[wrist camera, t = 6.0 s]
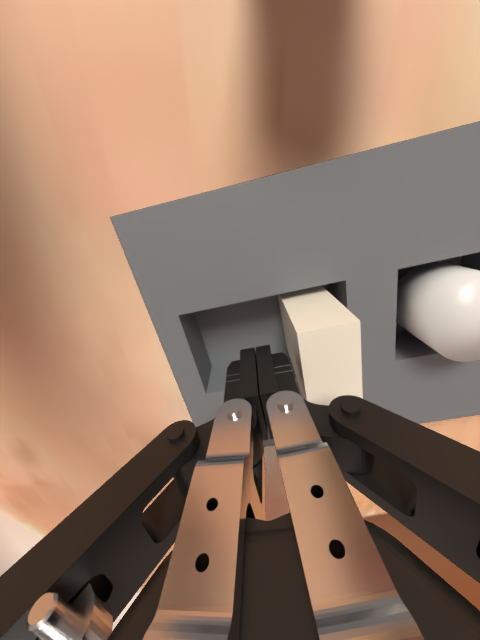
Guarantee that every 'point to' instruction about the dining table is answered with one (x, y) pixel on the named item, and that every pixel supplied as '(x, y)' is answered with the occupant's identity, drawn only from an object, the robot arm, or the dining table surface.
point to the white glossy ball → (442, 308)
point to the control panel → (314, 267)
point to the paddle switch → (322, 344)
